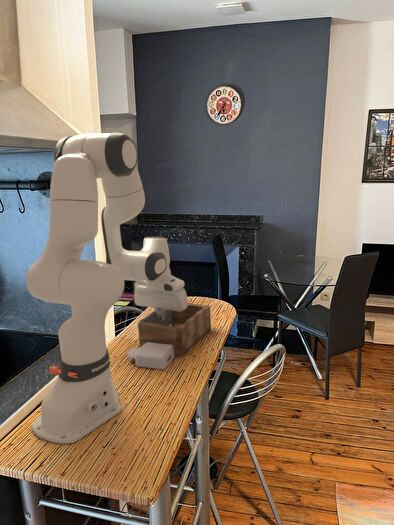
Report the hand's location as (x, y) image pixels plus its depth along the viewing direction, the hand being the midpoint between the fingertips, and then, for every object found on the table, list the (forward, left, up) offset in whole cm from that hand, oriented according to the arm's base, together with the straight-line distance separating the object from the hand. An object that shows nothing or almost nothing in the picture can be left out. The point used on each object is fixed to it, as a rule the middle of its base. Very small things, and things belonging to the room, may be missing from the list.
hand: (161, 319), depth 141 cm
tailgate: (0, +2, -5) cm, 5 cm away
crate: (0, -6, -7) cm, 9 cm away
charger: (-17, -4, -7) cm, 19 cm away
